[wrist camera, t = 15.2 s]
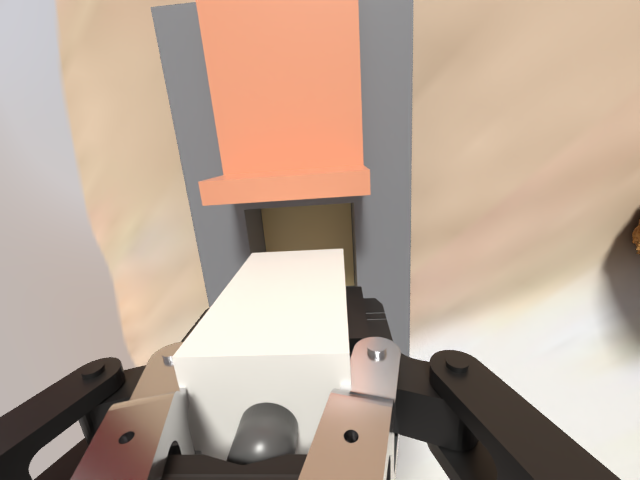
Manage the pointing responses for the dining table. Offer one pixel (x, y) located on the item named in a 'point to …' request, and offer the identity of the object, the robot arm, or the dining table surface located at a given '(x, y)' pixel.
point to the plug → (267, 356)
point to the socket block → (307, 214)
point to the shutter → (284, 99)
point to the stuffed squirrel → (636, 237)
